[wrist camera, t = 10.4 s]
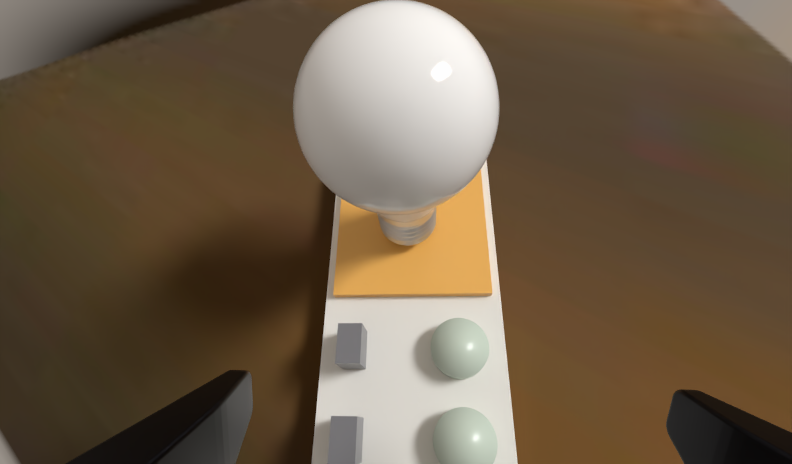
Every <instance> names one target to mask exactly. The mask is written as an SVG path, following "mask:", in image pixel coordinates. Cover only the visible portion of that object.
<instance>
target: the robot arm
mask: <svg viewBox="0 0 792 464" xmlns="http://www.w3.org/2000/svg"><path fill="white" fill-rule="evenodd" d="M252 407H253V401H252V380H251V374H250V372H249V371H244V370H229V371H227V372H225V373H224V374H222V375H220V376H218V377H217V378H215V379H213V380H211V381H210V382H208V383H206V384H204V385H203V386H201V387H199V388H197V389H196V390H194V391H192V392H190V393H189V394H187V395H185V396H183V397H182V398H180V399H178V400H176V401H175V402H173V403H171V404H169V405H168V406H166V407H164V408H162V409H161V410H159V411H157V412H155V413H154V414H152V415H150V416H148V417H147V418H145V419H143V420H141V421H140V422H138V423H136V424H134V425H133V426H131V427H129V428H127V429H126V430H124V431H122V432H120V433H119V434H117V435H115V436H113V437H111V438H110V439H108V440H106V441H104V442H103V443H101V444H99V445H97V446H96V447H94V448H92V449H90V450H89V451H87V452H85V453H83V454H82V455H80V456H78V457H76V458H75V459H73V460H71V461H69V462H68V463H66V464H235V463H236V460H237V457H238V454H239V451H240V448H241V445H242V442H243V439H244V436H245V433H246V430H247V427H248V424H249V421H250V418H251V414H252ZM666 427H667V431H668V434H669V437H670V438H671V440H672V442H673V444H674V446H675V448H676V449H677V451H678V453H679V455H680V457H681V459H682V460H683V462H684V464H792V433H791V432H789V431H787V430H784V429H782V428H780V427H778V426H776V425H773V424H771V423H769V422H767V421H765V420H762V419H760V418H758V417H756V416H754V415H751V414H749V413H747V412H745V411H743V410H740V409H738V408H736V407H734V406H732V405H729V404H727V403H725V402H723V401H721V400H718V399H716V398H714V397H712V396H710V395H707V394H705V393H703V392H701V391H697V390H677V391H676V392H675V393H674V395H673V398H672V402H671V406H670V410H669V414H668V418H667V422H666Z"/></svg>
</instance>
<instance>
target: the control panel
mask: <svg viewBox="0 0 792 464" xmlns="http://www.w3.org/2000/svg"><path fill="white" fill-rule="evenodd" d="M311 464H518V463H517V453H516V444H515V434H514V424H513V414H512V405H511V395H510V385H509V375H508V366H507V356H506V346H505V336H504V327H503V317H502V307H501V298H500V288H499V278H498V268H497V259H496V249H495V239H494V229H493V220H492V210H491V200H490V190H489V181H488V171H487V161H485V163H484V165H483V166H482V168H481V169H480V171H479V172H478V174H477V175H476V176H475V177H474V179H473V180H472V181H471V182H470V183H469V184H468V185H467V186H466V187H465V188H464V189H463V190H462V191H461V192H459V193H458V194H457V195H455V196H454V197H453V198H451V199H450V200H448V201H446V202H445V203H443V204H441V205H439V206H437V207H436V225H435V228H434V230H433V232H432V234H431V235H430V236H429V237H428V238H427V239H426V240H424V241H423V242H421V243H418V244H415V245H410V246H405V245H399V244H396V243H394V242H392V241H390V240H389V239H388V238H387V237H386V236H385V235H384V234H383V232H382V230H381V227H380V223H379V219H378V215H377V213H374V212H370V211H367V210H364V209H361V208H358V207H356V206H354V205H352V204H350V203H348V202H346V201H345V200H343V199H341V198H340V197H338V196H337V195H336V199H335V210H334V221H333V232H332V243H331V254H330V265H329V276H328V287H327V298H326V309H325V320H324V331H323V342H322V353H321V364H320V375H319V386H318V397H317V408H316V419H315V430H314V441H313V452H312V463H311Z"/></svg>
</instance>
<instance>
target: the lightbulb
mask: <svg viewBox="0 0 792 464" xmlns="http://www.w3.org/2000/svg"><path fill="white" fill-rule="evenodd" d="M293 118H294V126H295V131H296V135H297V139H298V142H299V145H300V148H301V150H302V152H303V155H304V157H305V159H306V160H307V162H308V164H309V166H310V167H311V169H312V170H313V172H314V173H315V174H316V176H317V177H318V178H319V179H320V180H321V182H322V183H323V184H324V185H325V186H326V187H327V188H329V189H330V190H331V191H332V192H333V193H334V194H336V195H337V196H338V197H340V198H341V199H343V200H345V201H346V202H348V203H350V204H352V205H354V206H356V207H358V208H361V209H364V210H367V211H370V212H374V213H377V215H378V219H379V223H380V227H381V230H382V232H383V234H384V235H385V236H386V237H387V238H388V239H389V240H390V241H392V242H394V243H396V244H399V245H405V246H410V245H415V244H418V243H421V242H423V241H424V240H426V239H427V238H428V237H429V236H430V235H431V234H432V232H433V230H434V228H435V225H436V207H437V206H439V205H441V204H443V203H445V202H446V201H448V200H450V199H451V198H453V197H454V196H455V195H457V194H458V193H459V192H461V191H462V190H463V189H464V188H465V187H466V186H467V185H468V184H469V183H470V182H471V181H472V180H473V179H474V177H475V176H476V175H477V174H478V172H479V171H480V169H481V168H482V166H483V165H484V163H485V161H486V159H487V158H488V155H489V153H490V151H491V149H492V146H493V143H494V140H495V137H496V133H497V128H498V121H499V93H498V87H497V82H496V78H495V74H494V71H493V68H492V65H491V63H490V61H489V59H488V57H487V55H486V53H485V51H484V49H483V48H482V46H481V45H480V43H479V42H478V41H477V39H476V38H475V37H474V36H473V34H472V33H471V32H470V31H469V30H468V29H467V28H466V27H465V26H464V25H462V24H461V23H460V22H459V21H458V20H456V19H455V18H454V17H452V16H451V15H449V14H447V13H446V12H444V11H442V10H440V9H438V8H436V7H433V6H431V5H428V4H424V3H421V2H416V1H411V0H382V1H376V2H372V3H368V4H365V5H362V6H360V7H357V8H355V9H353V10H351V11H349V12H347V13H345V14H344V15H342V16H340V17H339V18H338V19H336V20H335V21H334V22H332V23H331V24H330V25H329V26H328V27H327V28H326V29H325V30H324V31H323V32H322V33H321V34H320V35H319V36H318V37H317V39H316V40H315V41H314V43H313V44H312V46H311V47H310V49H309V50H308V52H307V54H306V56H305V58H304V60H303V62H302V64H301V67H300V70H299V72H298V76H297V79H296V84H295V89H294V97H293Z"/></svg>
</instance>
